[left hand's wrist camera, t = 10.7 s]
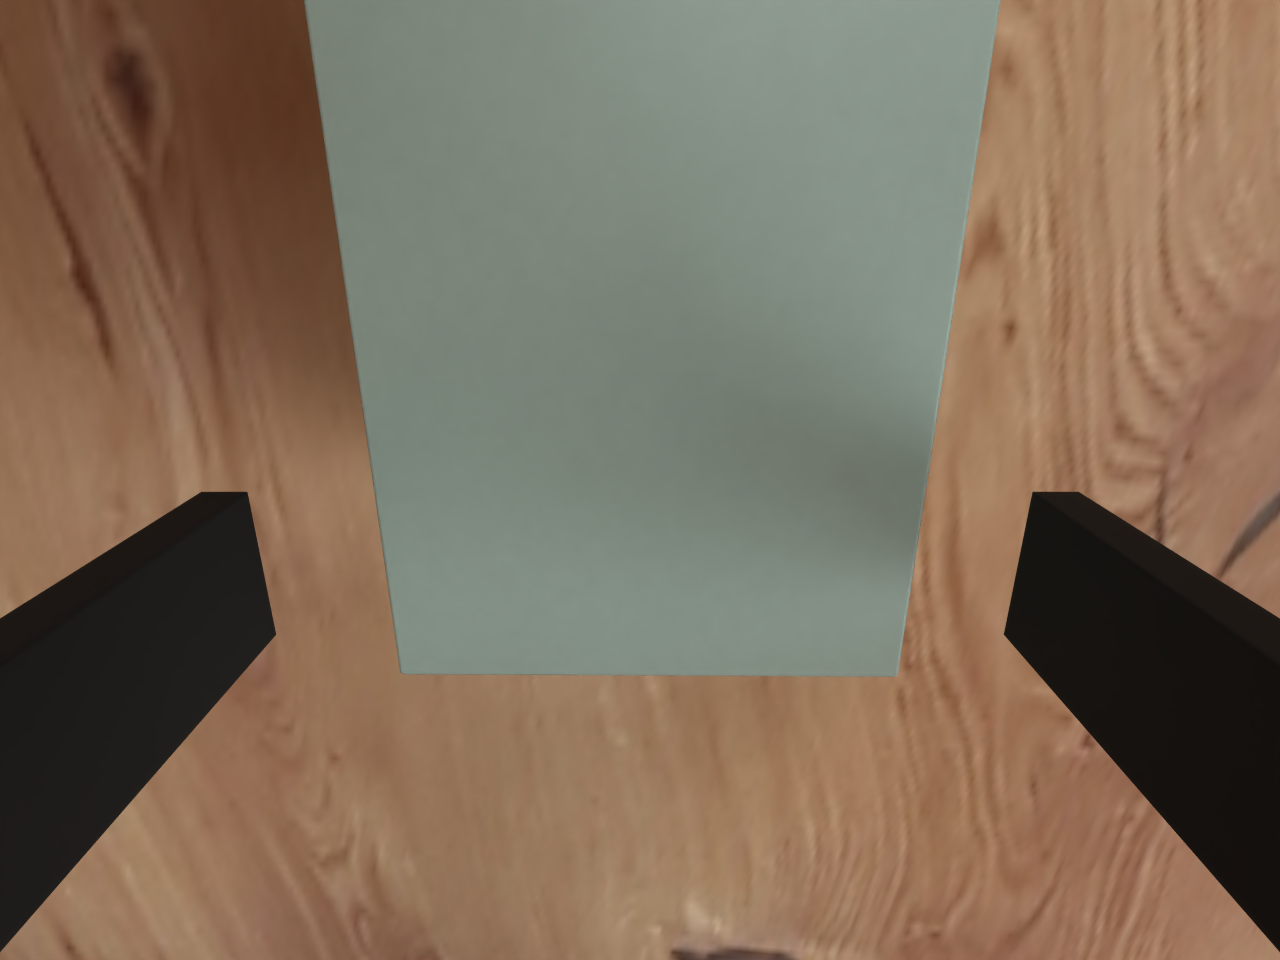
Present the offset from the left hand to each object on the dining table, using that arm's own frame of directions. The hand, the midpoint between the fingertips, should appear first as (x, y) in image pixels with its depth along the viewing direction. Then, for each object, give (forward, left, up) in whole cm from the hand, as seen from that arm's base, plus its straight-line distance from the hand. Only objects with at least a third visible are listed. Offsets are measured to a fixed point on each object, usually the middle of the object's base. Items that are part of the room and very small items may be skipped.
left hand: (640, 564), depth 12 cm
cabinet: (+2, +5, -12) cm, 14 cm away
